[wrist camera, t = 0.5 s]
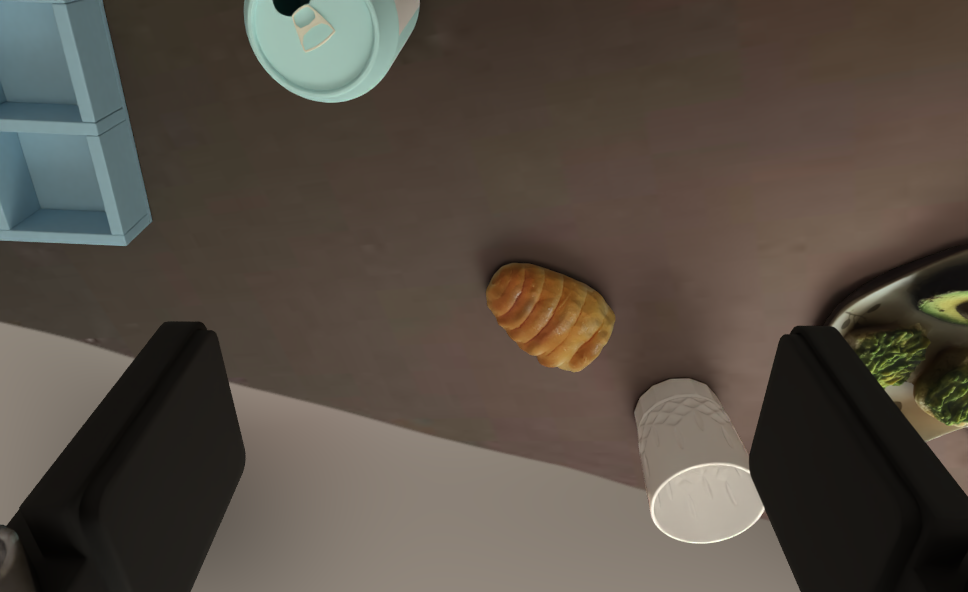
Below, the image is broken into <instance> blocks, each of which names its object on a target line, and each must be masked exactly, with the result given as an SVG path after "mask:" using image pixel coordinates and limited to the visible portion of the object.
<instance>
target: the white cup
mask: <svg viewBox="0 0 968 592" xmlns="http://www.w3.org/2000/svg"><path fill="white" fill-rule="evenodd" d="M634 415H635V420H636V425H637V430H638V445H639V453H640V459H641V464H642V470H643V475H644V481H645V486H646V491H647V496H648V502H649V507H650V513H651V517H652V520H653V522H654V523H655V525H656V526H657V527H658V528H659V529H660V530H661V531H662V532H663V533H665V534H666V535H668V536H669V537H672V538H674V539H676V540H679V541H683V542H688V543H713V542H718V541H722V540H726V539H729V538H732V537H734V536H736V535H738V534H740V533H742V532H744V531H745V530H747V529H748V528H749V527H751V526H752V525H753V524H754V523H755V522H756V521H757V520H758V519H759V518H760V516H761V515H762V513H763V511H764V509H765V508H764V506H763V504H762V501H761V499H760V497H759V494H758V492H757V490H756V487H755V485H754V483H753V481H752V478H751V475H750V471H749V454H748V452H747V450H746V448H745V446H744V444H743V442H742V440H741V438H740V436H739V435H738V433H737V431H736V429H735V428H734V426H733V424H732V422H731V420H730V419H729V417H728V415H727V414H726V412H725V411H724V409H723V407H722V405H721V403H720V401H719V399H718V397H717V396H716V395H715V394H714V393H713V391H712V390H711V389H710V388H709V387H708V386H707V385H706V384H704V383H701V382H698V381H696V380H693V379H690V378H681V379H669V380H666V381H664V382H661V383H658V384H656V385H653V386H652V387H651V388H650V389H649V390H647V391H646V392H645V393H644V394H643V395H642V396H641V397H640V398H639V401H638V403H637V406H636V409H635V411H634Z"/></svg>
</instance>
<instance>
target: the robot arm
mask: <svg viewBox="0 0 968 592" xmlns="http://www.w3.org/2000/svg"><path fill="white" fill-rule="evenodd" d="M244 466H245V448H244V444H243V440H242V436H241V432H240V427H239V423H238V420H237V415H236V411H235V407H234V403H233V398H232V394H231V390H230V386H229V382H228V378H227V374H226V370H225V365H224V361H223V357H222V353H221V349H220V345H219V341H218V337H217V334H216V333H215V332H214V331H212V330H207V328H206V327H205V325H204V324H203V323H201V322H164V323H163V324H162V325H161V326H160V327H159V329H158V330H157V331H156V332H155V334H154V335H153V336H152V338H151V339H150V340H149V341H148V343H147V344H146V345H145V347H144V348H143V349H142V350H141V352H140V353H139V354H138V356H137V357H136V358H135V359H134V361H133V362H132V363H131V365H130V366H129V367H128V368H127V370H126V371H125V372H124V374H123V375H122V376H121V378H120V379H119V380H118V381H117V383H116V384H115V385H114V386H113V388H112V389H111V390H110V392H109V393H108V394H107V395H106V397H105V398H104V399H103V401H102V402H101V403H100V404H99V406H98V407H97V408H96V410H95V411H94V412H93V413H92V415H91V416H90V417H89V418H88V420H87V421H86V422H85V424H84V425H83V426H82V428H81V429H80V430H79V431H78V433H77V434H76V435H75V436H74V438H73V439H72V441H71V442H70V443H69V444H68V445H67V447H66V448H65V449H64V451H63V452H62V453H61V454H60V456H59V457H58V458H57V460H56V461H55V462H54V464H53V465H52V466H51V467H50V469H49V470H48V471H47V472H46V474H45V475H44V476H43V478H42V479H41V480H40V482H39V483H38V484H37V485H36V487H35V488H34V489H33V491H32V492H31V493H30V494H29V495H28V497H27V498H26V499H25V501H24V502H23V503H22V504H21V506H20V507H19V510H18V512H17V513H16V514H15V516H14V517H13V518H12V519H11V521H10V522H9V523H8V525H7V526H4V525H0V592H190V591H191V589H192V587H193V585H194V582H195V580H196V578H197V576H198V573H199V571H200V569H201V566H202V564H203V562H204V560H205V557H206V555H207V553H208V551H209V548H210V546H211V544H212V541H213V539H214V537H215V535H216V532H217V530H218V528H219V526H220V523H221V521H222V519H223V517H224V514H225V512H226V509H227V507H228V505H229V503H230V500H231V498H232V496H233V494H234V491H235V489H236V487H237V485H238V482H239V480H240V478H241V475H242V473H243V470H244ZM749 471H750V475H751V478H752V481H753V483H754V485H755V487H756V490H757V492H758V494H759V497H760V499H761V501H762V504H763V506H764V508H765V510H766V513H767V515H768V517H769V520H770V522H771V524H772V527H773V529H774V531H775V533H776V536H777V538H778V540H779V543H780V545H781V547H782V550H783V552H784V554H785V556H786V559H787V561H788V563H789V566H790V568H791V570H792V573H793V575H794V577H795V579H796V582H797V584H798V586H799V589H800V591H801V592H968V496H967V495H966V494H965V493H964V491H963V490H962V489H961V487H960V486H959V485H958V484H957V482H956V481H955V480H954V478H953V477H952V476H951V475H950V473H949V472H948V471H947V469H946V468H945V467H944V466H943V464H942V463H941V462H940V460H939V459H938V458H937V457H936V455H935V454H934V453H933V451H932V450H931V449H930V448H929V446H928V445H927V444H926V442H925V441H924V440H923V439H922V437H921V436H920V435H919V434H918V432H917V431H916V430H915V428H914V427H913V426H912V425H911V423H910V422H909V421H908V419H907V418H906V417H905V416H904V414H903V413H902V412H901V410H900V409H899V408H898V407H897V405H896V404H895V403H894V401H893V400H892V399H891V398H890V396H889V395H888V394H887V392H886V391H885V390H884V389H883V387H882V386H881V385H880V383H879V382H878V381H877V380H876V378H875V377H874V376H873V375H872V373H871V372H870V371H869V369H868V368H867V367H866V366H865V364H864V363H863V362H862V360H861V359H860V358H859V357H858V355H857V354H856V353H855V351H854V350H853V349H852V348H851V346H850V345H849V344H848V342H847V341H846V340H845V339H844V337H843V336H842V335H841V333H840V332H839V331H838V330H837V329H836V328H835V327H832V326H796V327H794V328H793V330H792V331H791V333H790V334H785V335H783V336H782V337H781V338H780V341H779V344H778V348H777V351H776V355H775V359H774V363H773V367H772V370H771V374H770V378H769V382H768V386H767V390H766V393H765V397H764V401H763V405H762V409H761V412H760V416H759V420H758V424H757V428H756V432H755V435H754V439H753V443H752V447H751V451H750V455H749Z"/></svg>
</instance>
